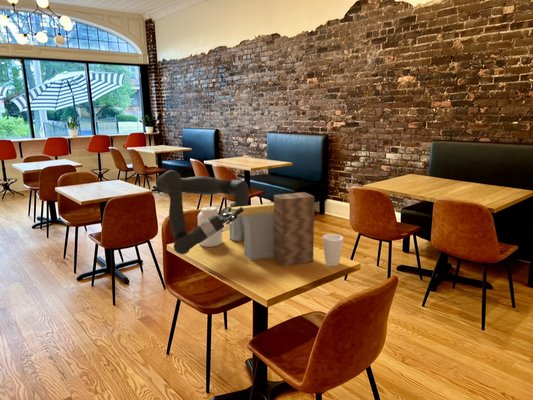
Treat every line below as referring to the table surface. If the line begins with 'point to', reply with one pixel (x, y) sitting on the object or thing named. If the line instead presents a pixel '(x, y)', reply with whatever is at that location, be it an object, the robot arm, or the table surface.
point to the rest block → (259, 235)
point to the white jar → (203, 216)
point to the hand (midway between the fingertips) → (239, 206)
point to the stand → (293, 228)
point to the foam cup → (332, 248)
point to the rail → (255, 209)
